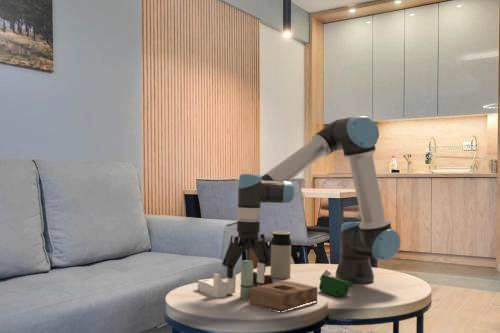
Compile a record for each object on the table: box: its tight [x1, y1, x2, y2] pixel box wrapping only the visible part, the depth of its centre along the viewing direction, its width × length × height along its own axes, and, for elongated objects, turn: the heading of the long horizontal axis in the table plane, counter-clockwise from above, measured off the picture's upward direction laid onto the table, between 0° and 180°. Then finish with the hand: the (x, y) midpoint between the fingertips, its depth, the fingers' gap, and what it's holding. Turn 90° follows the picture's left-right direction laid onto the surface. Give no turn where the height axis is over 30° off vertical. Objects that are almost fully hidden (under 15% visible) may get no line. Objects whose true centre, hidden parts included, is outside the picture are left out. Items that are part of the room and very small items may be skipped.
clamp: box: [318, 274, 355, 298], centre depth 168 cm, size 12×6×9 cm, turn 21°
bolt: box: [253, 271, 275, 286], centre depth 177 cm, size 6×5×15 cm
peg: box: [239, 259, 254, 301], centre depth 158 cm, size 4×4×12 cm
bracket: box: [197, 273, 236, 298], centre depth 165 cm, size 13×7×8 cm, turn 36°
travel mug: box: [269, 231, 292, 280], centre depth 194 cm, size 8×8×18 cm
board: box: [248, 280, 318, 312], centre depth 152 cm, size 18×13×5 cm
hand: (246, 285), depth 158 cm, fingers open, 13 cm apart
